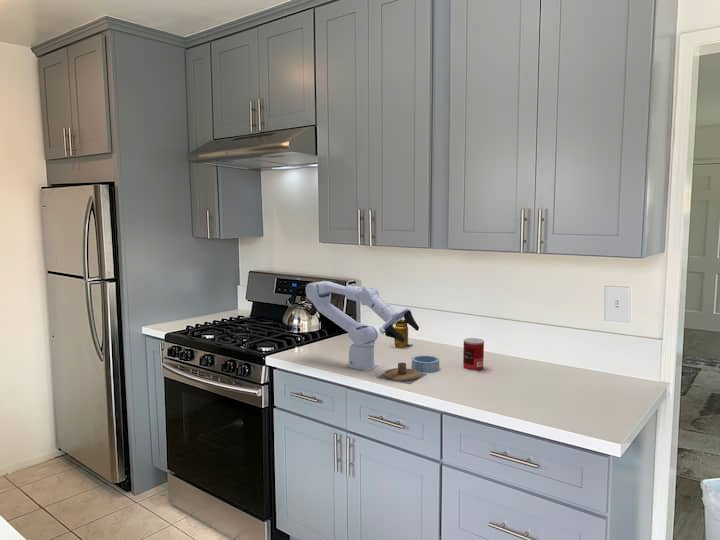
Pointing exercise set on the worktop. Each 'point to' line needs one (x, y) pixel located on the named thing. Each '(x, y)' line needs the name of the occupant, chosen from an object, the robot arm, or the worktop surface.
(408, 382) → the mat
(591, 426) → the worktop surface
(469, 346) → the canned food
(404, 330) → the condiment
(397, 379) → the lid
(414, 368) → the bowl
